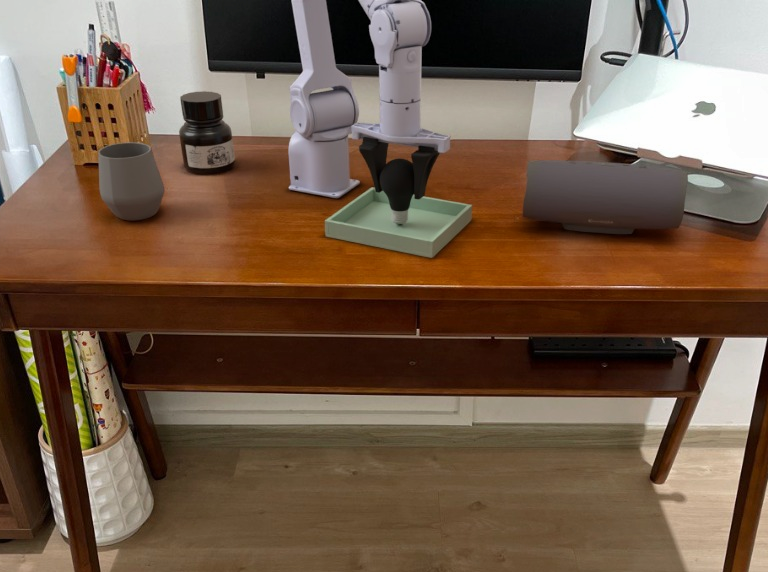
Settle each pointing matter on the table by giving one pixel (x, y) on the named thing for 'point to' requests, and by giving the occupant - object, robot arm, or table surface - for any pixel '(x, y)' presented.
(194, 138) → the ink bottle
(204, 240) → the table surface
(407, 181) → the light bulb
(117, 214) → the cup
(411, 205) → the tray
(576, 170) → the bluetooth speaker
